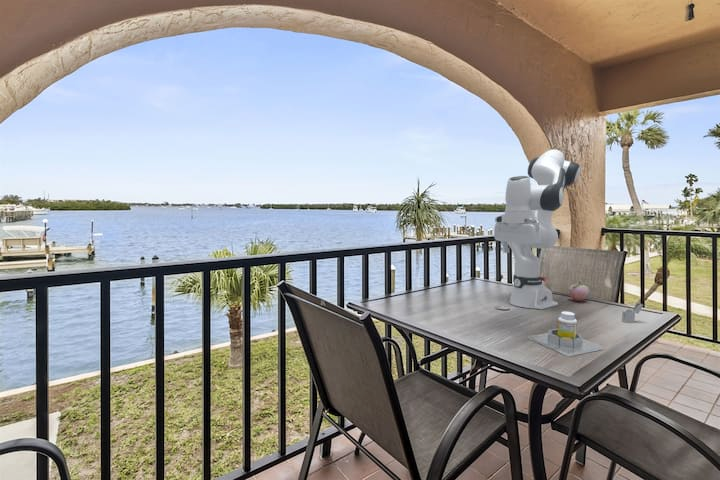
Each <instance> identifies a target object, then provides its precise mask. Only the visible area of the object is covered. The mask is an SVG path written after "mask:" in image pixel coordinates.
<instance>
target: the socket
mask: <svg viewBox="0 0 720 480" xmlns="http://www.w3.org/2000/svg"><path fill="white" fill-rule="evenodd" d="M557 335H558V328H553V329H547V332H544V333H538V334H533V335H528V336H527V338H528V340H530V341H532V342H534V343H537V344H539V345H541V346H544V347H546V348H547V349H550V350H553V351H556V352H557V353H559V354H562V355H564V356H566V357H568V358H569V357H575V356H578V355H583V354H588V353H592V352H596V351H602V350H604V346H602V345H600V344H598V343H595V342H592V341H589V340H587V339H584V338H583V336H582V333H578V332H576V338H574V339H571V337H565V336H562V337H559V336H557Z"/></svg>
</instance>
